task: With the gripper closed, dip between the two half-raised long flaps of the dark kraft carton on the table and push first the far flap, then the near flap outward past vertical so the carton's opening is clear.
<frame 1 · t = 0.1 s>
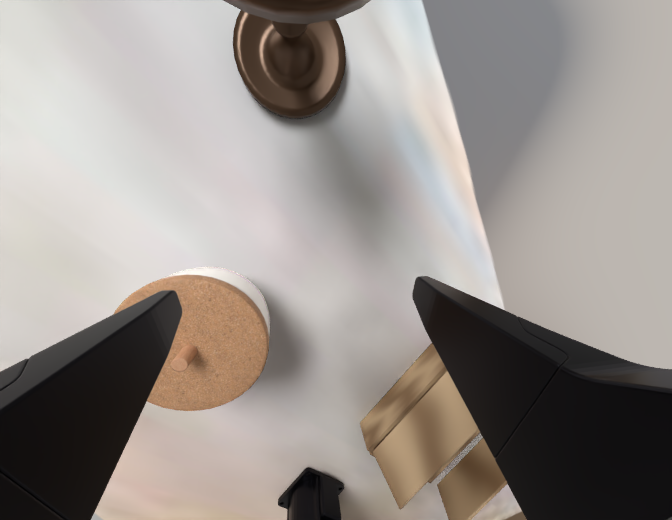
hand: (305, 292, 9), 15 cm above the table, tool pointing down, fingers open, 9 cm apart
candlestick: (291, 61, 20), on the table
carton: (424, 402, 31), on the table
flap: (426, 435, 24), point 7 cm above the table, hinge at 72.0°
lidded jar: (224, 304, 25), on the table
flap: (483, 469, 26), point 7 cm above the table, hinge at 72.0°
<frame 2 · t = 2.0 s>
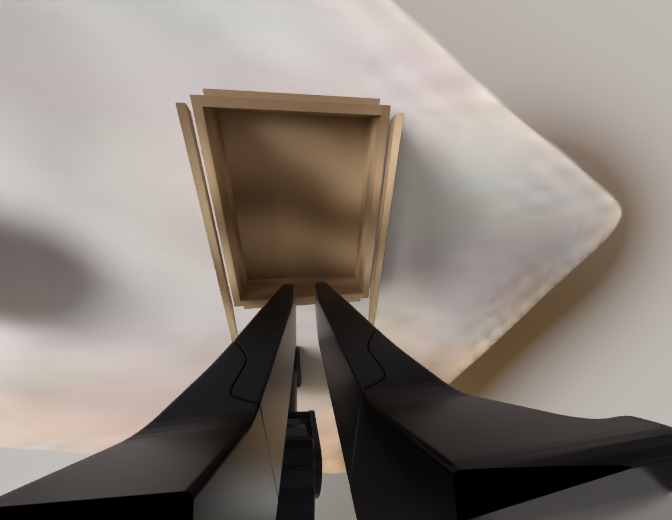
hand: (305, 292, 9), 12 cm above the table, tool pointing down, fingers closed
carton: (300, 207, 20), on the table
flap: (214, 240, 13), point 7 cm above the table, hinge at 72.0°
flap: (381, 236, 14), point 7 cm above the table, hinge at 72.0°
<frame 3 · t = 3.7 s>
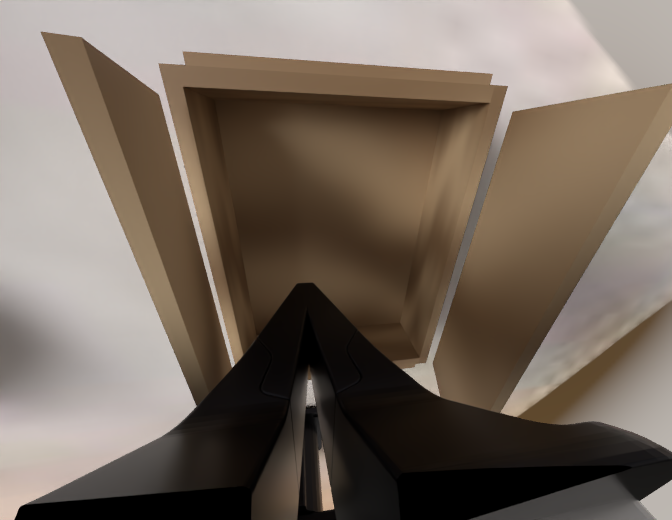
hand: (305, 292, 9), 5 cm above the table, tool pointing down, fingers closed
carton: (332, 239, 14), on the table
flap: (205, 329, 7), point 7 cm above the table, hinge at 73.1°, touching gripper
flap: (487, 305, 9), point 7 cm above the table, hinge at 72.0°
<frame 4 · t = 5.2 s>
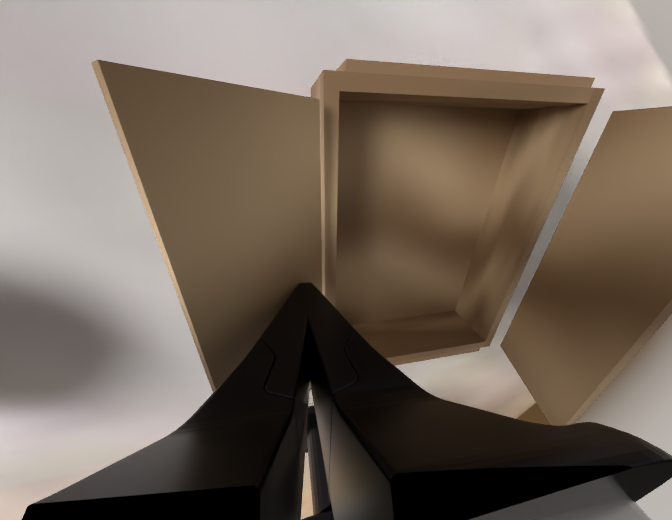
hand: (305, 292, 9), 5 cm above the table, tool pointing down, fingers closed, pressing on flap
carton: (404, 233, 15), on the table
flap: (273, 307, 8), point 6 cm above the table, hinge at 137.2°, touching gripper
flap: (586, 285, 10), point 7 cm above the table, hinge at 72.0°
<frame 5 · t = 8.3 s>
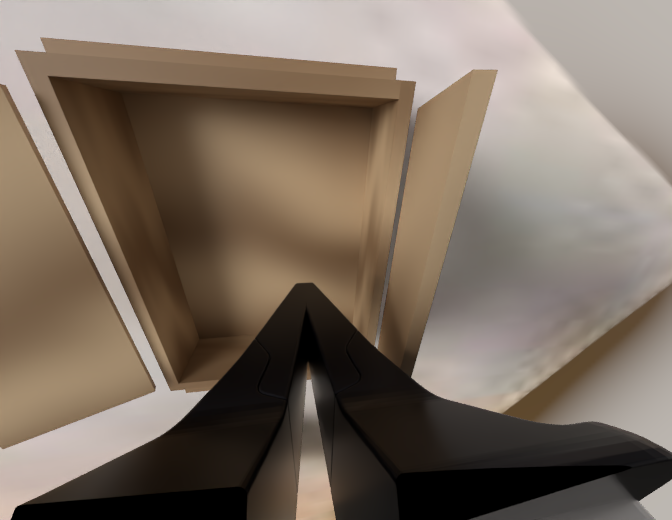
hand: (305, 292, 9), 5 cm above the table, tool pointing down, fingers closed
carton: (271, 241, 13), on the table
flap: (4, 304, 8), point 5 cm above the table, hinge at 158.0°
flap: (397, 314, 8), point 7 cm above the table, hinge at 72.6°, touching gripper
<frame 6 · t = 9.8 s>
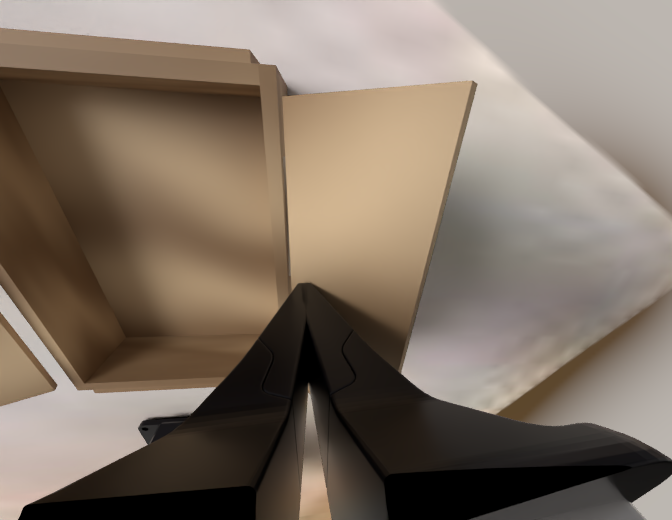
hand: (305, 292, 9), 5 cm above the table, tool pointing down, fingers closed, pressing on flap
carton: (188, 239, 13), on the table
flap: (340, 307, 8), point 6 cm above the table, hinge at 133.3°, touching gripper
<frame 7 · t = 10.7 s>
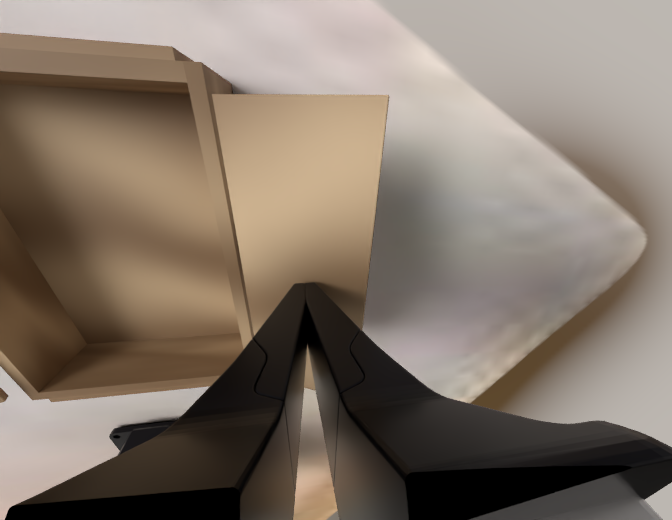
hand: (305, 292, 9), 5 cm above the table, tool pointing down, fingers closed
carton: (144, 241, 12), on the table
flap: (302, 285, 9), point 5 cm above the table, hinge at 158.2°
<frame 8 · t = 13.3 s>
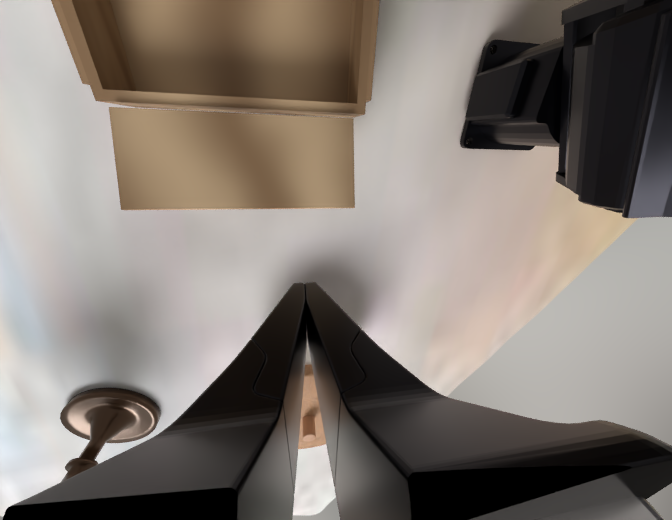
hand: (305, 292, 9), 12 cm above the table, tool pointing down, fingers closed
candlestick: (117, 411, 28), on the table
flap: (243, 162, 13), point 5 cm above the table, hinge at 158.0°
lidded jar: (305, 344, 27), on the table
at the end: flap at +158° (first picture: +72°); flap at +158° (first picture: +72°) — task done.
